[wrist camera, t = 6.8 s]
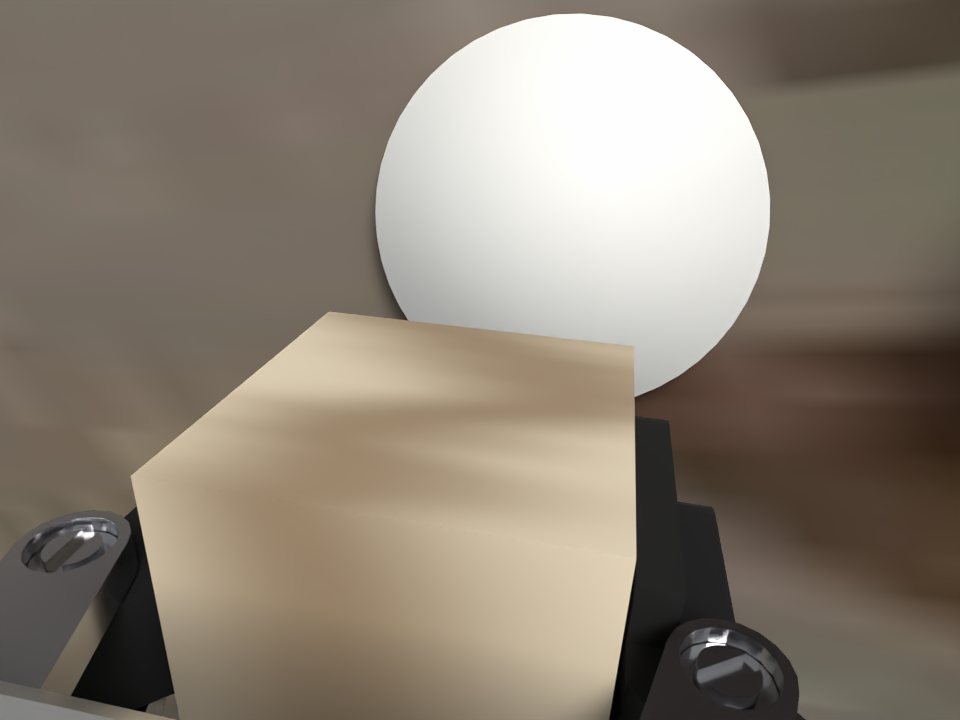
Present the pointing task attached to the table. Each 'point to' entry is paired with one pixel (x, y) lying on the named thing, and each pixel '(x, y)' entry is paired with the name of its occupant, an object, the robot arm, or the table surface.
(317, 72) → the table surface
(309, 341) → the maple block
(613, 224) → the ceramic dish
